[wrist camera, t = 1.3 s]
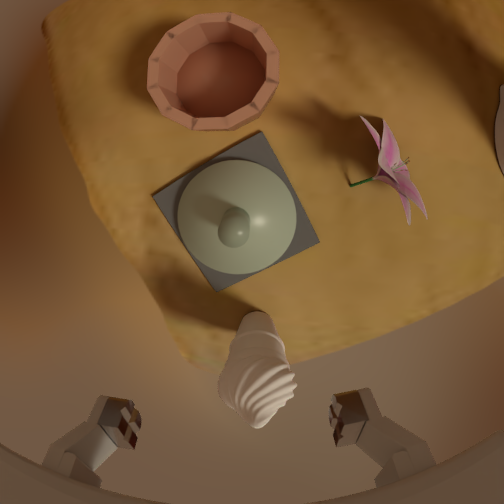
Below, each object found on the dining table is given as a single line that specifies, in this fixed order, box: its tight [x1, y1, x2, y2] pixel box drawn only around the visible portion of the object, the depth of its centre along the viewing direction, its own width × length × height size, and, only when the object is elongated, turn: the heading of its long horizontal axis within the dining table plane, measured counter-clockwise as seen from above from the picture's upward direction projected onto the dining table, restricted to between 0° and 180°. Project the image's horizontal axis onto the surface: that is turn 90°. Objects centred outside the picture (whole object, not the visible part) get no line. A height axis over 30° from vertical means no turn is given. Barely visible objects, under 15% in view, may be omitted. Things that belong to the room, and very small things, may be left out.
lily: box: [350, 116, 428, 225], centre depth 25 cm, size 12×12×10 cm
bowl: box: [147, 12, 279, 131], centre depth 22 cm, size 11×11×7 cm
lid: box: [178, 160, 296, 274], centre depth 29 cm, size 13×13×5 cm
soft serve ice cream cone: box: [218, 311, 297, 428], centre depth 30 cm, size 8×8×16 cm
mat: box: [153, 132, 320, 292], centre depth 31 cm, size 14×14×1 cm
